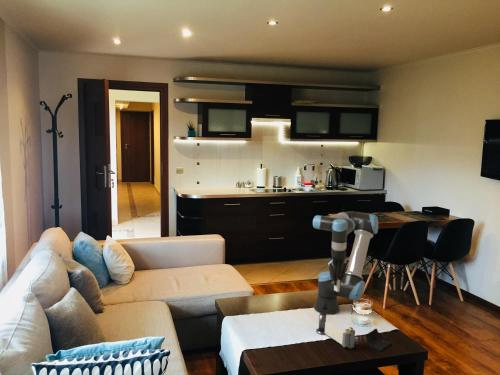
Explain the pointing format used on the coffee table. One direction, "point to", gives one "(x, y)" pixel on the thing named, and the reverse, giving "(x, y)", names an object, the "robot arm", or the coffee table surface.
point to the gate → (337, 334)
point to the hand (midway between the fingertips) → (336, 290)
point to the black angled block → (376, 340)
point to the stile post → (351, 337)
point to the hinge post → (321, 324)
